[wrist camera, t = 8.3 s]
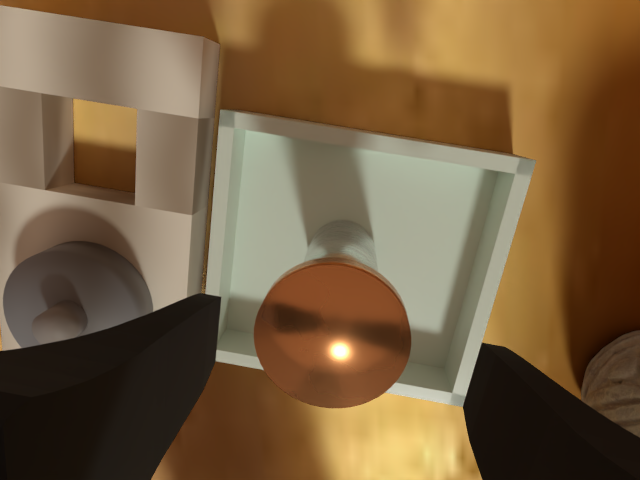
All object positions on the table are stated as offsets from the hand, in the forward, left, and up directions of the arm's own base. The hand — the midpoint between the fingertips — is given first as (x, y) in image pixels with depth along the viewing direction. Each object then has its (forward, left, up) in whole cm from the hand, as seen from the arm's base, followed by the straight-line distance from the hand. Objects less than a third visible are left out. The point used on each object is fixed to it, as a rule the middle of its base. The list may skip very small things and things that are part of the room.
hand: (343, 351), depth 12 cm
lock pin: (0, 0, -8) cm, 8 cm away
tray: (0, 0, -9) cm, 9 cm away
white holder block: (-11, 0, -9) cm, 14 cm away
